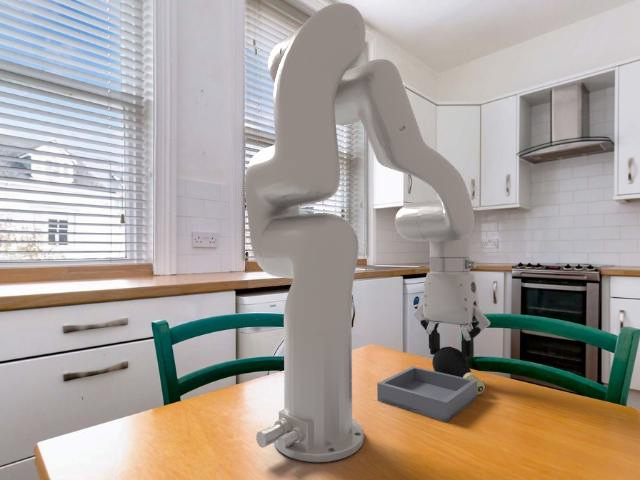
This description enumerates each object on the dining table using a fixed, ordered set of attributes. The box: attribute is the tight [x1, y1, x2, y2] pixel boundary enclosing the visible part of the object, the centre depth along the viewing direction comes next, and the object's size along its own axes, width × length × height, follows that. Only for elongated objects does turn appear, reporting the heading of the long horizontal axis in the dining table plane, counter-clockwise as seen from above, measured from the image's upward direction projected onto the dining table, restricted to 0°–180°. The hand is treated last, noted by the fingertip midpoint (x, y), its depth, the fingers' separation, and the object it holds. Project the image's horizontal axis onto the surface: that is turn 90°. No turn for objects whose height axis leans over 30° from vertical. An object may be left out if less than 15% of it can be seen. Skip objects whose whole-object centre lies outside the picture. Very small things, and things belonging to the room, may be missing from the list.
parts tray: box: [376, 365, 478, 423], centre depth 67 cm, size 13×13×3 cm
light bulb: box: [431, 346, 485, 396], centre depth 74 cm, size 7×7×12 cm
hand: (450, 355), depth 77 cm, fingers closed on light bulb, 5 cm apart
